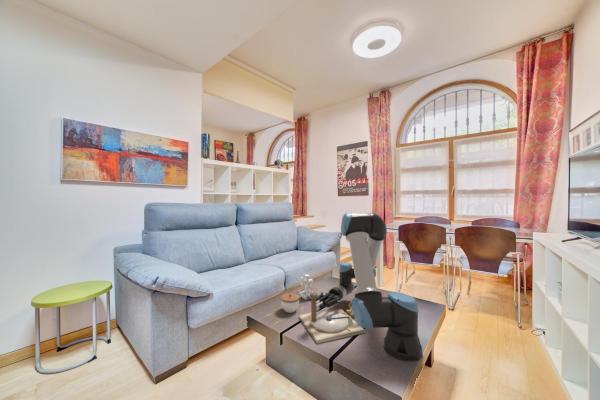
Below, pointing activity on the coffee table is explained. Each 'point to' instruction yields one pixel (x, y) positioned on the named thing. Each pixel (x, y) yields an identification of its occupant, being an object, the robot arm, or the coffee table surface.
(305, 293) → the figurine
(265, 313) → the coffee table surface
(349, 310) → the cat figure
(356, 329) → the beige flat board
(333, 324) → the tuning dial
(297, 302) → the lidded jar
